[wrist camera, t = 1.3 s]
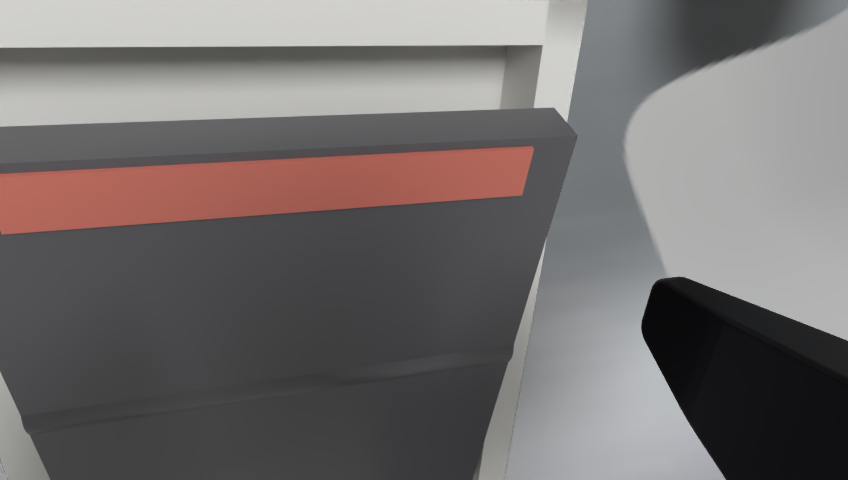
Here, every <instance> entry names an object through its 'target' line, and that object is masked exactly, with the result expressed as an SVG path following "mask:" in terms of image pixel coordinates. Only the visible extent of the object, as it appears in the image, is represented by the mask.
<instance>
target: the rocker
mask: <svg viewBox="0 0 848 480" xmlns="http://www.w3.org/2000/svg"><path fill="white" fill-rule="evenodd" d="M577 136H578V135H577V134H576V133H575V132H574V131H573V129H572V128H571V127H570V126H569V125H568V123H567V122H566V121H565V120H564V119H563V117H562V116H561V115H560V114H559V113H558V111H557V110H556V109H555V108H526V109H497V110H468V111H439V112H410V113H381V114H352V115H323V116H294V117H265V118H236V119H208V120H179V121H150V122H121V123H92V124H63V125H34V126H5V127H0V372H1V374H2V377H3V379H4V381H5V383H6V385H7V387H8V390H9V392H10V394H11V396H12V398H13V400H14V403H15V405H16V407H17V409H18V411H19V413H20V415H21V420H22V424H23V427H24V429H25V431H26V433H27V434H29V435H30V437H31V439H32V441H33V443H34V446H35V448H36V450H37V452H38V454H39V456H40V459H41V461H42V463H43V465H44V467H45V469H46V471H47V474H48V476H49V478H50V480H473V476H474V473H475V470H476V466H477V463H478V460H479V457H480V453H481V450H482V447H483V444H484V440H485V437H486V434H487V431H488V427H489V424H490V421H491V417H492V414H493V411H494V408H495V404H496V401H497V398H498V395H499V391H500V388H501V385H502V381H503V378H504V375H505V372H506V368H507V365H508V362H509V361H510V360H511V358H512V356H513V350H514V342H515V339H516V336H517V332H518V329H519V326H520V323H521V319H522V316H523V313H524V310H525V306H526V303H527V300H528V297H529V293H530V290H531V287H532V283H533V280H534V277H535V274H536V270H537V267H538V264H539V261H540V257H541V254H542V251H543V247H544V244H545V241H546V238H547V234H548V231H549V228H550V225H551V221H552V218H553V215H554V212H555V208H556V205H557V202H558V198H559V195H560V192H561V189H562V185H563V182H564V179H565V176H566V172H567V169H568V166H569V163H570V159H571V156H572V153H573V149H574V146H575V143H576V140H577Z"/></svg>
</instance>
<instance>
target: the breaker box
mask: <svg viewBox="0 0 848 480" xmlns="http://www.w3.org/2000/svg"><path fill="white" fill-rule="evenodd" d="M587 5H588V1H586V0H0V127H5V126H34V125H63V124H92V123H121V122H150V121H179V120H208V119H236V118H265V117H294V116H323V115H352V114H381V113H410V112H439V111H468V110H497V109H526V108H555V109H556V110H557V111H558V113H559V114H560V115H561V116H562V117H563V119H564V120H565V121H566V122H567V119H568V113H569V107H570V102H571V96H572V90H573V85H574V79H575V73H576V68H577V62H578V56H579V50H580V45H581V39H582V33H583V28H584V22H585V16H586V10H587ZM546 239H547V238H546ZM545 244H546V241H545ZM545 244H544V247H543V251H542V254H541V257H540V261H539V264H538V267H537V270H536V274H535V277H534V280H533V283H532V287H531V290H530V293H529V297H528V300H527V303H526V306H525V310H524V313H523V316H522V319H521V323H520V326H519V329H518V332H517V336H516V339H515V342H514V350H513V356H512V358H511V360H510V361H509V362H508V365H507V368H506V372H505V375H504V378H503V381H502V385H501V388H500V391H499V395H498V398H497V401H496V404H495V408H494V411H493V414H492V417H491V421H490V424H489V427H488V431H487V434H486V437H485V440H484V444H483V447H482V450H481V453H480V457H479V460H478V463H477V466H476V470H475V473H474V476H473V480H504V478H505V473H506V467H507V461H508V455H509V450H510V444H511V438H512V433H513V427H514V421H515V416H516V410H517V404H518V398H519V393H520V387H521V381H522V376H523V370H524V364H525V358H526V353H527V347H528V341H529V336H530V330H531V324H532V319H533V313H534V307H535V301H536V296H537V290H538V284H539V279H540V273H541V267H542V261H543V256H544V250H545ZM0 460H1V463H2V466H3V469H4V472H5V474H6V477H7V480H50V478H49V476H48V474H47V471H46V469H45V467H44V465H43V463H42V461H41V459H40V456H39V454H38V452H37V450H36V448H35V446H34V443H33V441H32V439H31V437H30V435H29V434H27V433H26V431H25V429H24V427H23V424H22V420H21V415H20V413H19V411H18V409H17V407H16V405H15V403H14V400H13V398H12V396H11V394H10V392H9V390H8V387H7V385H6V383H5V381H4V379H3V377H2V374H1V372H0Z"/></svg>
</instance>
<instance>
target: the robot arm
mask: <svg viewBox="0 0 848 480" xmlns="http://www.w3.org/2000/svg"><path fill="white" fill-rule="evenodd" d="M641 329H642V334H643V338H644V340H645V342H646V344H647V346H648V347H649V349H650V351H651V353H652V355H653V357H654V359H655V361H656V363H657V365H658V366H659V368H660V370H661V372H662V374H663V376H664V378H665V380H666V382H667V383H668V385H669V387H670V389H671V391H672V393H673V395H674V397H675V399H676V400H677V402H678V404H679V406H680V408H681V410H682V412H683V413H684V415H685V417H686V419H687V420H688V422H689V424H690V425H691V427H692V428H693V430H694V432H695V433H696V435H697V436H698V438H699V439H700V441H701V442H702V444H703V445H704V447H705V448H706V450H707V452H708V453H709V455H710V456H711V458H712V459H713V461H714V462H715V464H716V465H717V467H718V468H719V470H720V471H721V473H722V474H723V476H724V477H725V479H726V480H848V341H847V340H844V339H842V338H839V337H836V336H834V335H831V334H829V333H826V332H824V331H821V330H819V329H816V328H813V327H811V326H808V325H806V324H803V323H800V322H798V321H795V320H793V319H790V318H788V317H785V316H783V315H780V314H777V313H775V312H772V311H770V310H767V309H764V308H762V307H759V306H757V305H754V304H752V303H749V302H747V301H744V300H741V299H739V298H736V297H733V296H731V295H729V294H726V293H723V292H721V291H718V290H716V289H713V288H710V287H708V286H705V285H703V284H700V283H698V282H695V281H693V280H690V279H687V278H684V277H672V278H664V279H660V280H658V281H656V282H655V283H654V285H653V286H652V289H651V292H650V296H649V299H648V302H647V306H646V309H645V312H644V316H643V319H642V325H641Z"/></svg>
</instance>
